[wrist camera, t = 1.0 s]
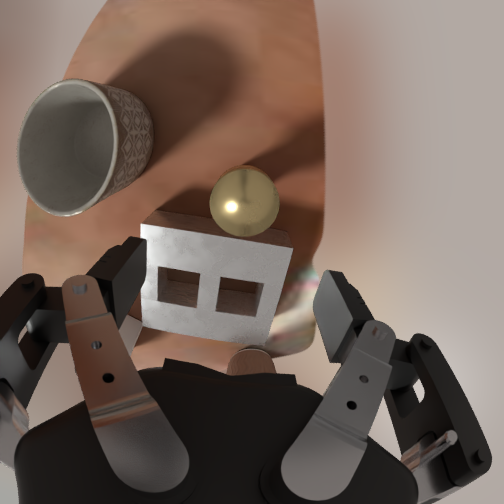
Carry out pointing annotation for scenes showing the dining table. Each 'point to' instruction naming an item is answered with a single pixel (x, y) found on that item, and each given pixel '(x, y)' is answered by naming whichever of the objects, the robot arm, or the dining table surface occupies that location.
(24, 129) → the planter
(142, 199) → the dining table surface
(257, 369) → the coffee cup
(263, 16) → the dining table surface
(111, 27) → the dining table surface
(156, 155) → the dining table surface
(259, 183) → the brass knob
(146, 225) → the jig
